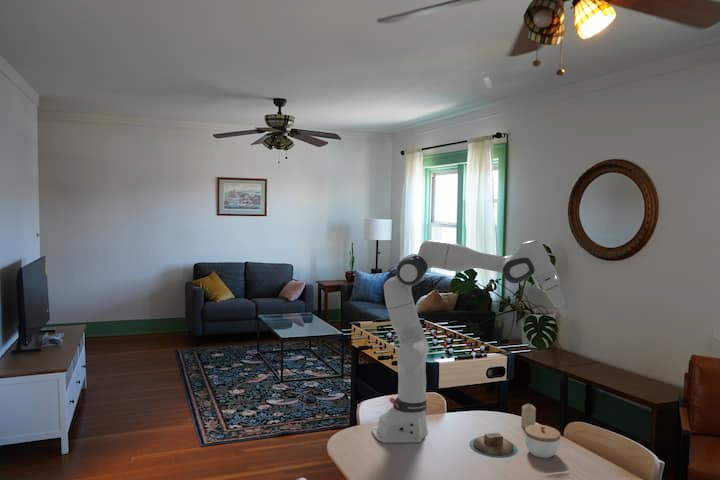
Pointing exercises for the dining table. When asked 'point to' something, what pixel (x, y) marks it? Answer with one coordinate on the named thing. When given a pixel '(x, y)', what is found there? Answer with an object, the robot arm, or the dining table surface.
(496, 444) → the lid
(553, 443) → the lidded bowl
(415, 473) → the dining table surface
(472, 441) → the mat
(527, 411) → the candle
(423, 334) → the robot arm
